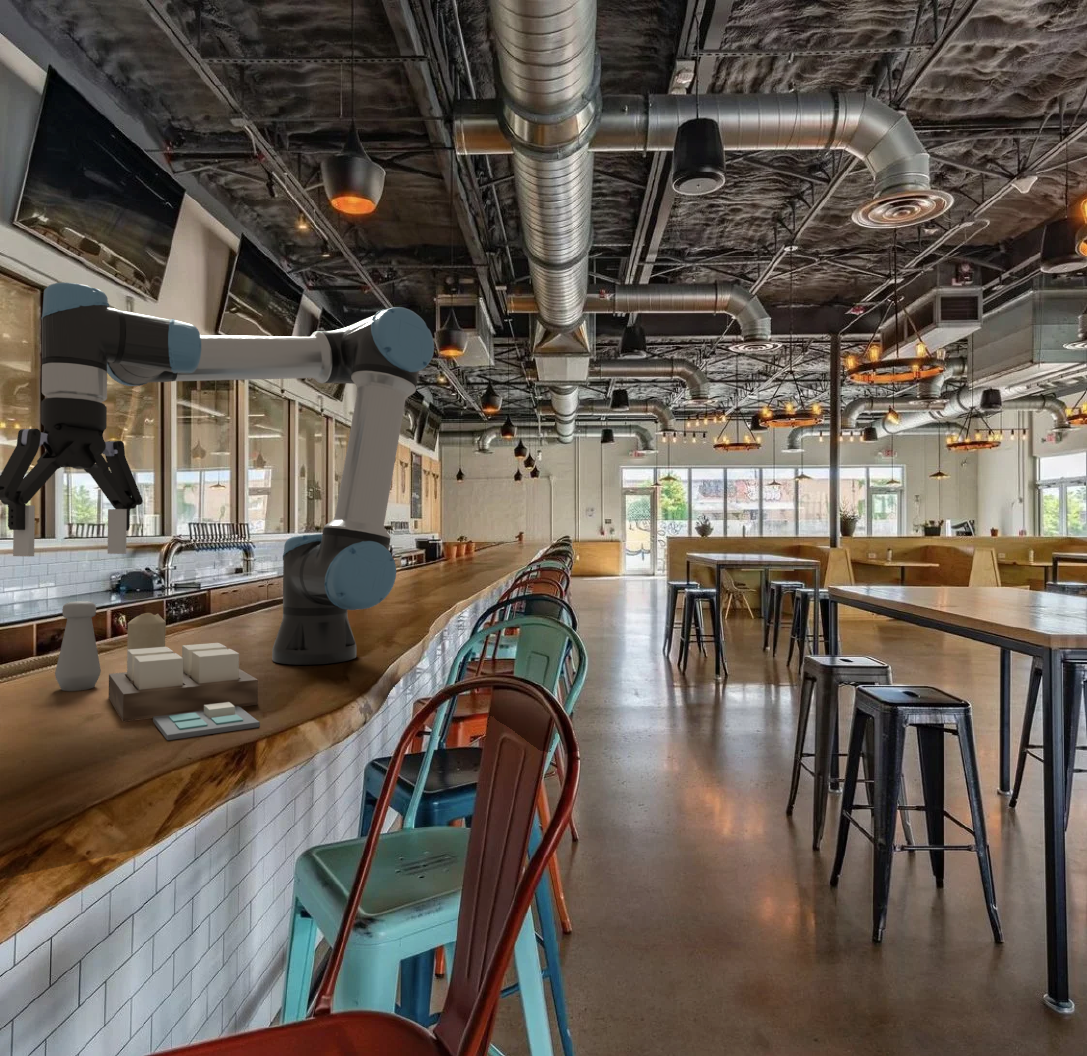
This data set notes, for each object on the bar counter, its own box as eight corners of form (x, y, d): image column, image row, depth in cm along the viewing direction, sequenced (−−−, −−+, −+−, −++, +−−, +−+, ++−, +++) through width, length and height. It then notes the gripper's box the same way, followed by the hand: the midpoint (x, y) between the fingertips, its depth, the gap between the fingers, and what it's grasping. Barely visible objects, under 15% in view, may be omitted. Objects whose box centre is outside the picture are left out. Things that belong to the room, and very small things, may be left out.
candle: (128, 672, 120) (129, 612, 121) (165, 669, 123) (166, 611, 123) (125, 678, 115) (126, 615, 116) (163, 675, 118) (164, 614, 118)
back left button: (218, 667, 108) (218, 642, 108) (226, 672, 104) (226, 646, 104) (181, 670, 105) (182, 645, 105) (188, 676, 101) (189, 649, 101)
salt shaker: (46, 689, 106) (47, 602, 106) (86, 682, 111) (87, 599, 112) (68, 693, 104) (70, 604, 104) (108, 686, 109) (110, 601, 109)
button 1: (166, 672, 104) (166, 646, 104) (172, 677, 100) (173, 651, 100) (127, 675, 101) (127, 649, 101) (131, 681, 97) (132, 654, 97)
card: (238, 710, 95) (238, 698, 95) (259, 726, 87) (259, 713, 87) (152, 721, 89) (153, 708, 89) (167, 740, 81) (167, 726, 81)
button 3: (229, 674, 102) (230, 648, 103) (238, 680, 98) (239, 653, 99) (191, 678, 99) (191, 651, 100) (199, 684, 95) (199, 656, 96)
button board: (228, 684, 111) (229, 662, 111) (257, 704, 98) (257, 679, 98) (108, 697, 101) (108, 673, 101) (123, 721, 88) (123, 694, 88)
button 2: (175, 680, 98) (176, 653, 98) (182, 686, 94) (183, 658, 94) (133, 684, 95) (134, 656, 95) (139, 690, 91) (139, 661, 91)
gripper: (131, 416, 111) (130, 552, 111) (-44, 383, 88) (-46, 557, 87) (169, 413, 109) (168, 553, 109) (0, 379, 85) (-2, 558, 85)
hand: (73, 555), depth 98 cm, fingers open, 13 cm apart
